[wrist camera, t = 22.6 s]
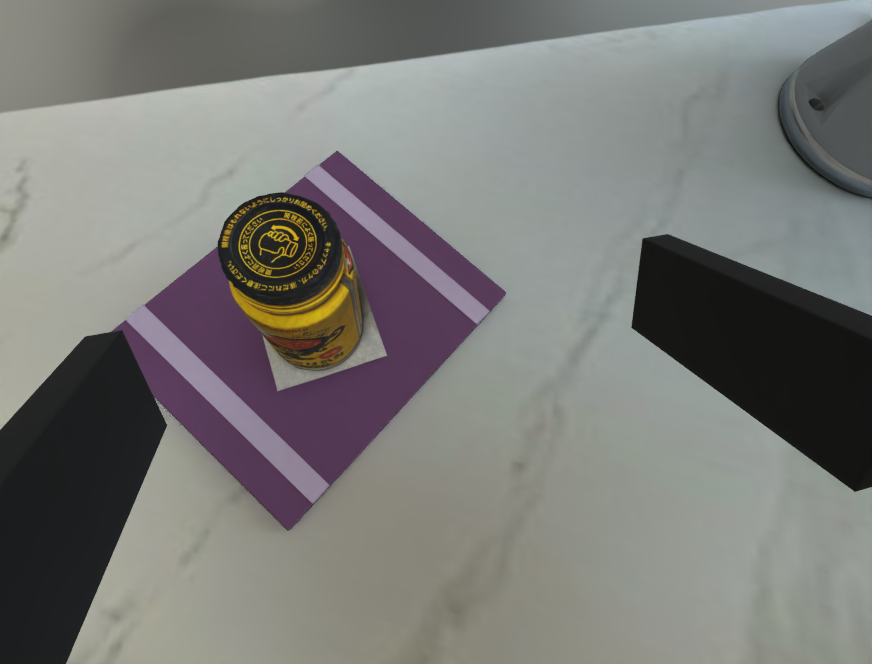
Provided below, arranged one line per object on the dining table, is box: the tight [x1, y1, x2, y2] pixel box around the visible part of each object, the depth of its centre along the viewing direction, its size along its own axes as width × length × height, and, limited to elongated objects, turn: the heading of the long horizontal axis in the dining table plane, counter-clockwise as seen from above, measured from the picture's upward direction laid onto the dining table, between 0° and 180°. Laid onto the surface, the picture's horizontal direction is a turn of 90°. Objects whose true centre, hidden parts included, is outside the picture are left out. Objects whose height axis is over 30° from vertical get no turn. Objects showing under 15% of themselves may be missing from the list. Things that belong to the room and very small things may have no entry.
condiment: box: [218, 193, 387, 391], centre depth 26 cm, size 7×8×12 cm
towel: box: [112, 151, 506, 530], centre depth 32 cm, size 21×17×1 cm
